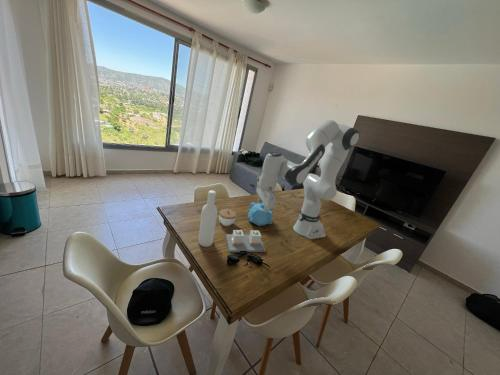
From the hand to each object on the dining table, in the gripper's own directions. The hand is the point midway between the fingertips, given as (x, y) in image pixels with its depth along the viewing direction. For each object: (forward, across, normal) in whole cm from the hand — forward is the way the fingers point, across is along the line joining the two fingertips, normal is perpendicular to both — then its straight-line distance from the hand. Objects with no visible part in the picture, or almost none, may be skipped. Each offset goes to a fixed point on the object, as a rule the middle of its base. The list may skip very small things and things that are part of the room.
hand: (262, 207), depth 110 cm
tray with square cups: (+23, -1, +6) cm, 24 cm away
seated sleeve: (+22, -1, +11) cm, 24 cm away
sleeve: (+22, -1, +1) cm, 22 cm away
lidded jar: (+23, +19, +14) cm, 33 cm away
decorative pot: (+23, +23, -10) cm, 34 cm away
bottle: (+23, 0, +28) cm, 36 cm away
